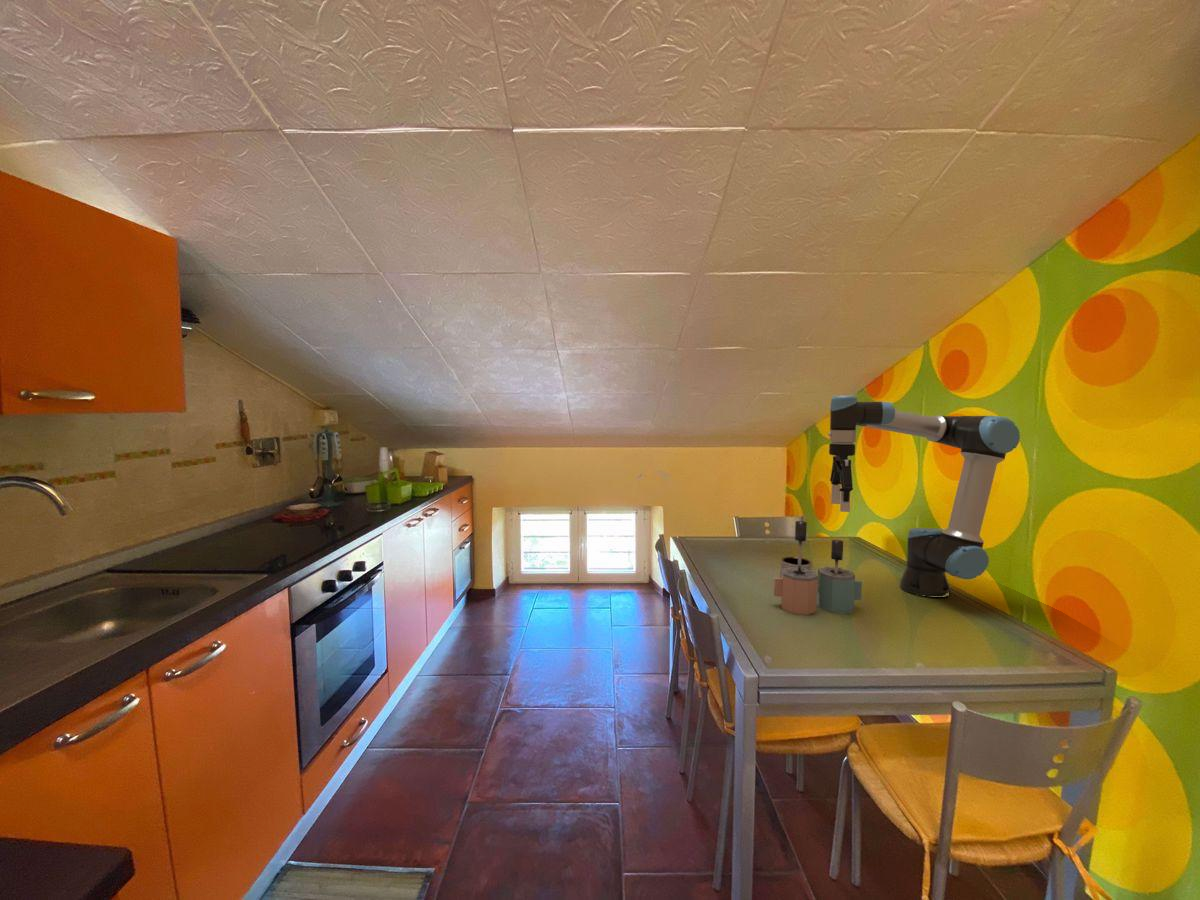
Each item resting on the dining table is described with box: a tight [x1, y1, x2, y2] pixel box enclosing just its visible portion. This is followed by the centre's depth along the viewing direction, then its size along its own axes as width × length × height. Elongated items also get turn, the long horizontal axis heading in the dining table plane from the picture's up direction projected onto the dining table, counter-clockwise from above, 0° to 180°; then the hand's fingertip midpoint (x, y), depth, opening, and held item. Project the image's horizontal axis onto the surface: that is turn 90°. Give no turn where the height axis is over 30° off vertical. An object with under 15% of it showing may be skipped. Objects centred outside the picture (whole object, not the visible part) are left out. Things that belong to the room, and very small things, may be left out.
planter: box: [779, 556, 813, 578], centre depth 179 cm, size 11×11×10 cm
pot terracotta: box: [773, 567, 818, 616], centre depth 158 cm, size 13×10×12 cm
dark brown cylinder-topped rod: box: [830, 539, 844, 574], centre depth 158 cm, size 8×8×20 cm
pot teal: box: [816, 566, 863, 615], centre depth 158 cm, size 13×10×12 cm
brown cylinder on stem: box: [794, 520, 808, 575], centre depth 157 cm, size 8×8×20 cm
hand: (839, 507), depth 157 cm, fingers open, 13 cm apart
